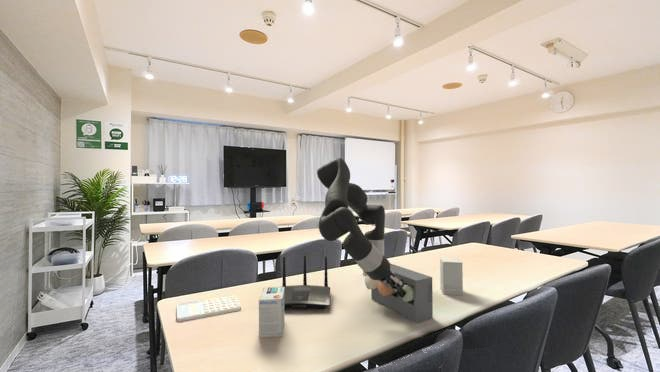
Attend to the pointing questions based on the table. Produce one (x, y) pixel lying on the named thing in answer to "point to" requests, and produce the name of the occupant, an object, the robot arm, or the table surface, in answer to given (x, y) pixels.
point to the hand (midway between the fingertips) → (403, 294)
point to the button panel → (422, 300)
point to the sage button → (408, 293)
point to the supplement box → (451, 276)
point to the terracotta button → (384, 289)
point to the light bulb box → (271, 312)
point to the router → (306, 292)
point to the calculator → (207, 308)
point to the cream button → (371, 283)
